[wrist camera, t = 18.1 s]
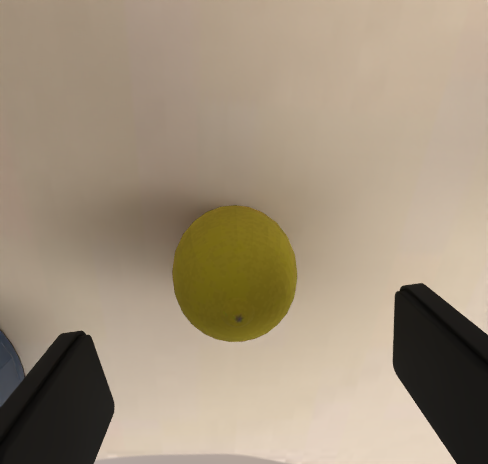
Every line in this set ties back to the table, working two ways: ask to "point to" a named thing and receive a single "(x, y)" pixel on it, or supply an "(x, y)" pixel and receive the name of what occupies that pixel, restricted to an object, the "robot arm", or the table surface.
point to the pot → (8, 369)
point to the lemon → (234, 273)
